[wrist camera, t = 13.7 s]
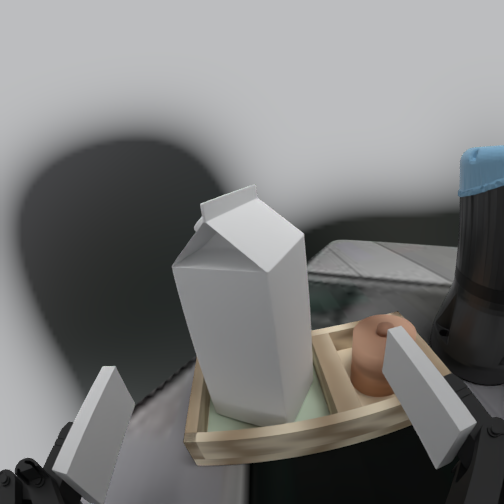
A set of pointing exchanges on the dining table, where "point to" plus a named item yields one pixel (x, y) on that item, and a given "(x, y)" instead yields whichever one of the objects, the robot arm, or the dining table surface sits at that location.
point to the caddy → (313, 401)
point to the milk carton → (248, 308)
